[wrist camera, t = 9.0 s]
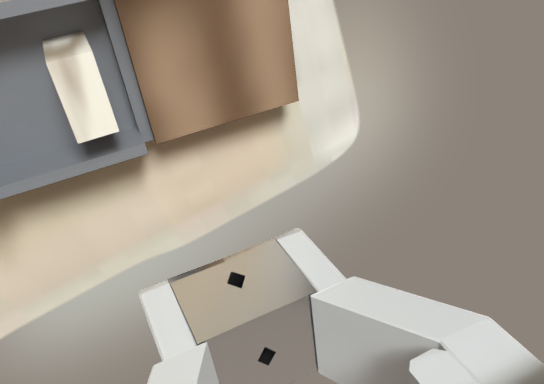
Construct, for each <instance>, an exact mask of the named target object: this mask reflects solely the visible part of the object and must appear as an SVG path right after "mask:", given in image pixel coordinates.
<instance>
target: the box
mask: <svg viewBox="0 0 544 384" xmlns="http://www.w3.org/2000/svg"><path fill="white" fill-rule="evenodd" d="M80 31H83V32H84V34H85V37H86V39H87V41H88V43H89V45H90V47H91V50H92V52H93V55H94V58H95V61H96V64H97V67H98V70H99V73H100V76H101V79H102V81H103V84H104V87H105V90H106V93H107V96H108V99H109V102H110V105H111V108H112V111H113V114H114V117H115V120H116V123H117V126H118V129H119V132H116V133H112V134H109V135H106V136H102V137H99V138H96V139H92V140H89V141H86V142H82V143H79V144H78V143H77V140H76V138H75V135H74V133H73V130H72V128H71V125H70V123H69V120H68V118H67V115H66V112H65V110H64V107H63V105H62V102H61V100H60V97H59V95H58V92H57V90H56V87H55V85H54V82H53V80H52V77H51V75H50V72H49V70H48V67H47V65H46V61H45V55H44V49H43V43H42V41H43V40H47V39H51V38H56V37H60V36H64V35H68V34H72V33H76V32H80ZM151 140H154V138H153V134H152V131H151V128H150V124H149V121H148V117H147V114H146V110H145V107H144V104H143V100H142V97H141V93H140V90H139V87H138V83H137V80H136V76H135V73H134V69H133V66H132V63H131V59H130V56H129V52H128V49H127V46H126V42H125V39H124V35H123V32H122V28H121V25H120V22H119V18H118V15H117V11H116V8H115V5H114V1H113V0H0V199H3V198H6V197H10V196H13V195H16V194H19V193H23V192H26V191H29V190H32V189H36V188H39V187H42V186H45V185H49V184H52V183H55V182H58V181H61V180H65V179H68V178H71V177H74V176H78V175H81V174H84V173H87V172H91V171H94V170H97V169H100V168H103V167H107V166H110V165H113V164H116V163H120V162H123V161H126V160H129V159H133V158H136V157H139V156H142V155H146V154H148V151H147V148H146V145H145V142H148V141H151Z"/></svg>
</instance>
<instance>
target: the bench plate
mask: <svg viewBox="0 0 544 384" xmlns="http://www.w3.org/2000/svg"><path fill="white" fill-rule="evenodd" d="M113 1H114V5H115V8H116V11H117V15H118V18H119V22H120V25H121V28H122V32H123V35H124V39H125V42H126V46H127V49H128V52H129V56H130V59H131V63H132V66H133V69H134V73H135V76H136V80H137V83H138V87H139V90H140V93H141V97H142V100H143V104H144V107H145V110H146V114H147V117H148V121H149V124H150V128H151V131H152V134H153V138H154V140H155V142H156V144H159V143H162V142H165V141H169V140H172V139H175V138H178V137H182V136H185V135H188V134H192V133H195V132H198V131H201V130H205V129H208V128H211V127H214V126H218V125H221V124H224V123H228V122H231V121H234V120H237V119H241V118H244V117H247V116H250V115H254V114H257V113H260V112H264V111H267V110H270V109H273V108H277V107H280V106H283V105H286V104H290V103H293V102H296V101H299V99H298V90H297V80H296V71H295V62H294V52H293V43H292V34H291V24H290V15H289V6H288V0H113Z"/></svg>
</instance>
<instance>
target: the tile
mask: <svg viewBox="0 0 544 384" xmlns="http://www.w3.org/2000/svg"><path fill="white" fill-rule="evenodd" d="M42 43H43V49H44V55H45V61H46V65H47V67H48V70H49V72H50V75H51V77H52V80H53V82H54V85H55V87H56V90H57V92H58V95H59V97H60V100H61V102H62V105H63V107H64V110H65V112H66V115H67V118H68V120H69V123H70V125H71V128H72V130H73V133H74V135H75V138H76V140H77V143H78V144H79V143H82V142H86V141H89V140H92V139H96V138H99V137H102V136H106V135H109V134H112V133H116V132H119V129H118V126H117V123H116V120H115V117H114V114H113V111H112V108H111V105H110V102H109V99H108V96H107V93H106V90H105V87H104V84H103V81H102V79H101V76H100V73H99V70H98V67H97V64H96V61H95V58H94V55H93V52H92V50H91V47H90V45H89V43H88V41H87V39H86V37H85V34H84V32H83V31H80V32H76V33H72V34H68V35H64V36H60V37H56V38H51V39H47V40H43V41H42Z"/></svg>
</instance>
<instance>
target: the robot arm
mask: <svg viewBox="0 0 544 384" xmlns="http://www.w3.org/2000/svg"><path fill="white" fill-rule="evenodd" d="M138 293H139V298H140V301H141V304H142V306H143V309H144V312H145V315H146V318H147V320H148V323H149V326H150V329H151V332H152V334H153V337H154V340H155V343H156V346H157V349H158V351H159V354H160V357H161V360H162V362H160V363H158V364H155V365H153V368H152V370H151V373H150V376H149V378H148V382H147V384H290V383H292V382H294V381H296V380H298V379H301V378H303V377H305V376H307V375H309V374H311V373H314V372H316V371H319V373H320V374H322V375H323V376H325V377H327V378H329V379H331V380H333V381H335V382H336V383H338V384H544V364H542V363H541V362H540V361H539V360H538V359H537V358H536V357H535V356H533V355H532V354H531V353H530V352H529V351H528V350H526V349H525V348H524V347H523V346H522V345H521V344H520V343H518V342H517V341H516V340H515V339H514V338H513V337H512V336H510V335H509V334H508V333H507V332H506V331H505V330H504V329H502V328H501V327H500V326H499V325H498V324H497V323H496V322H494V321H493V320H492V319H491V318H490V317H487V316H484V315H481V314H477V313H474V312H470V311H467V310H464V309H461V308H457V307H454V306H451V305H447V304H444V303H441V302H437V301H434V300H431V299H428V298H424V297H421V296H418V295H414V294H411V293H408V292H404V291H401V290H398V289H394V288H391V287H388V286H385V285H381V284H378V283H374V282H371V281H368V280H365V279H361V278H358V277H355V276H354V277H351V278H349V279H346V278H345V277H344V276H343V275H342V274H341V273H340V271H339V270H338V269H337V268H336V267H335V266H334V265H333V264H332V263H331V262H330V261H329V260H328V258H327V257H326V256H325V255H324V254H323V253H322V252H321V251H320V250H319V248H318V247H317V246H316V245H315V244H314V243H313V242H312V241H311V240H310V239H309V237H308V236H307V235H306V234H305V233H304V232H303V231H302V230H301V229H298V228H295V229H293V230H290V231H288V232H286V233H283V234H281V235H278V236H276V237H274V238H272V239H270V240H268V241H265V242H263V243H260V244H258V245H255V246H253V247H250V248H248V249H245V250H243V251H240V252H238V253H235V254H233V255H231V256H228V257H226V258H223V259H221V260H218V261H215V262H213V263H210V264H207V265H204V266H202V267H199V268H196V269H194V270H191V271H188V272H185V273H183V274H180V275H177V276H175V277H172V278H169V279H168V281H167V280H165V281H163V282H160V283H157V284H155V285H152V286H149V287H147V288H144V289H141V290H139V291H138Z"/></svg>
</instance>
